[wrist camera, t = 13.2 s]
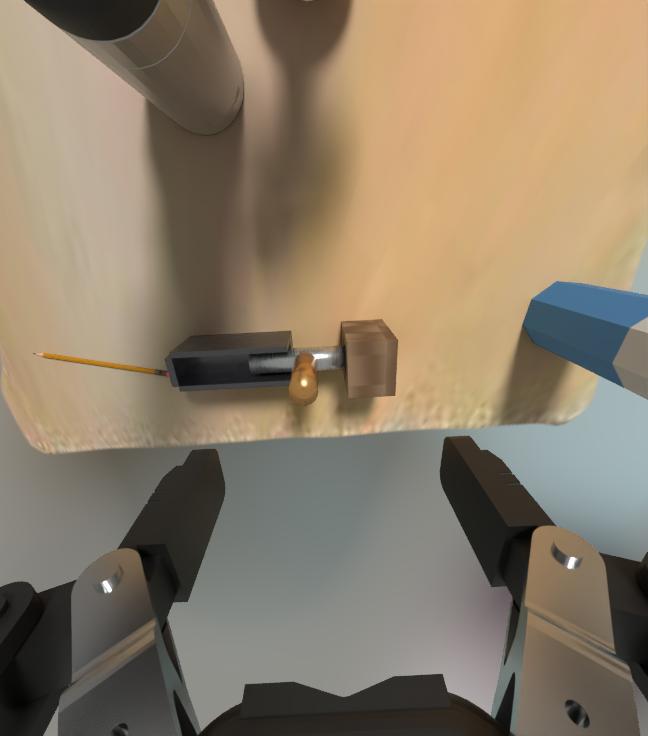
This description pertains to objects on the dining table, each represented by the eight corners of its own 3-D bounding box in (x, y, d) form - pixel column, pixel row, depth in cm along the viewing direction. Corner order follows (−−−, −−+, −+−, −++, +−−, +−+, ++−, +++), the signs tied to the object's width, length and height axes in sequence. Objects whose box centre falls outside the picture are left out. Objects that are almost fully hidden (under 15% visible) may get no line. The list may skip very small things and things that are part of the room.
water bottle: (508, 328, 42) (732, 437, 20) (556, 266, 39) (892, 309, 16) (557, 356, 44) (813, 485, 21) (607, 299, 41) (972, 379, 18)
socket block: (342, 368, 44) (348, 398, 36) (341, 321, 42) (347, 342, 33) (380, 366, 44) (395, 395, 36) (382, 319, 42) (397, 340, 33)
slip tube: (255, 368, 41) (236, 409, 31) (252, 347, 40) (231, 382, 30) (373, 362, 41) (391, 401, 31) (373, 340, 40) (392, 373, 30)
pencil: (173, 372, 45) (170, 371, 44) (172, 377, 45) (169, 376, 44) (36, 351, 43) (31, 350, 42) (34, 356, 43) (30, 355, 42)
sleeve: (193, 370, 44) (174, 391, 38) (184, 336, 42) (163, 353, 36) (294, 365, 44) (291, 385, 38) (291, 330, 42) (286, 346, 36)
